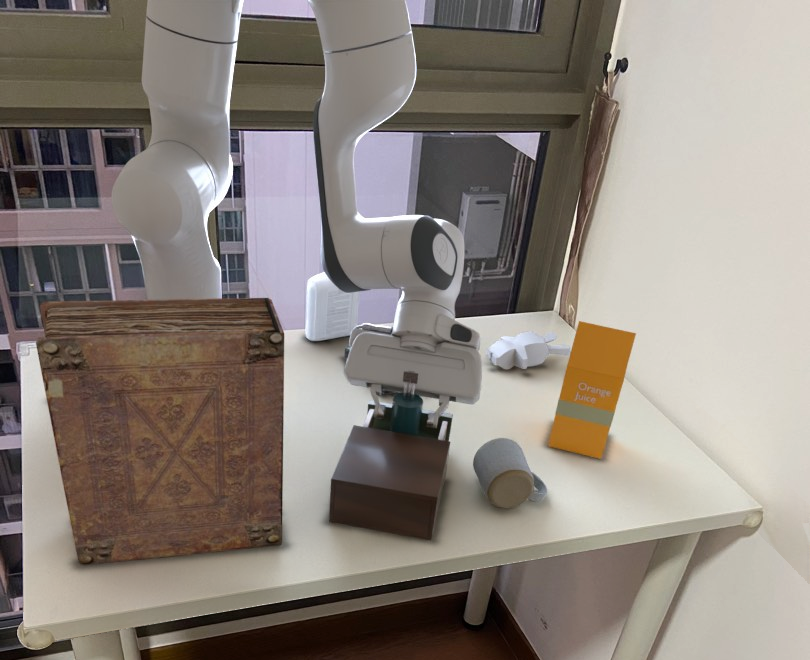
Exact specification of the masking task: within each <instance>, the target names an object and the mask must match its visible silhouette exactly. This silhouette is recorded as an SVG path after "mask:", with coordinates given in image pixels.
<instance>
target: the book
mask: <svg viewBox="0 0 810 660" xmlns="http://www.w3.org/2000/svg"><path fill="white" fill-rule="evenodd" d="M39 308H40V314H41V321H42V326H43V331H44V336H40V337H37V339H36V341H35V346H36V351H37V356H38V361H39V365H40V366H39V367H40V372H41V377H42V382H43V387H44V392H45V397H46V402H47V407H48V408H47V409H48V414H49V418H50V424H51V428H52V434H53V439H54V444H55V450H56V453H57V461H58V465H59V469H60V470H59V471H60V475H61V480H62V485H63V490H64V497H65V502H66V505H67V511H68V517H69V521H70V528H71V532H72V538H73V543H74V547H75V552H76V553H75V554H76V558H77V563H78V564H79V565H80V566H88V565H89V566H90V565H98V564H109V563H116V562H117V563H119V562H127V561H129V562H130V561H138V560H149V559H157V558H166V557H176V556H177V557H178V556H186V555H196V554H205V553H215V552H224V551H225V552H226V551H235V550H245V549H253V548H254V549H255V548H263V547H272V546H273V547H274V546H281V545H282V543H283V502H284V501H283V497H284V495H283V494H284V493H283V491H284V409H285V408H284V404H285V403H284V400H285V399H284V398H285V331H284V329H283V326H282V323H281V321H280V318H279V316H278V313H277V310H276V308H275V305H274V303H273V300H272V299H271V298H269V297H233V298H222V299H169V300H146V299H119V300H118V299H117V300H116V299H114V300H113V299H112V300H111V299H110V300H64V301H63V300H62V301H59V300H58V301H44V302H41V303H40V306H39Z"/></svg>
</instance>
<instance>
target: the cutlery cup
mask: <svg viewBox="0 0 810 660" xmlns="http://www.w3.org/2000/svg"><path fill="white" fill-rule="evenodd" d="M418 374H419V373H415V372H414V371H404V374H403V382H405V383H404V392H403V393H399V392H397V393H396V394H394V396H393V397H392V403H391V404H392V412H391V422H390V431H391V432H397V433H403V434H409V435H415V436H419V431H420V423H421V415H422V409H423V408H424V406H423V405H424V399H423V397H422V396H418V395H416V394H414V390H415V384H417V382H418ZM408 382H409V384H408ZM407 384H408V392H407ZM411 385H412V390H411Z"/></svg>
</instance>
